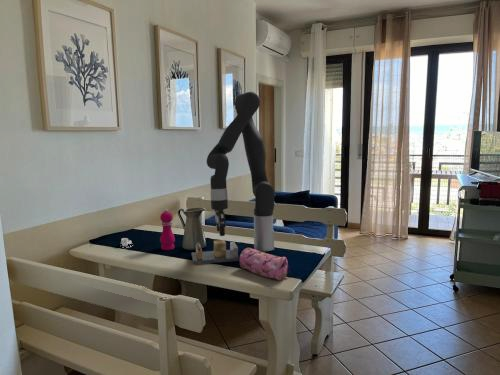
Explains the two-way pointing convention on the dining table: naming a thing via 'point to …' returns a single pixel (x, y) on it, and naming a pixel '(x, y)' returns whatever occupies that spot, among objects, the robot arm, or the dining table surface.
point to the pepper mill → (167, 231)
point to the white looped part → (125, 242)
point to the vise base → (210, 257)
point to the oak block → (219, 248)
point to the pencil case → (264, 264)
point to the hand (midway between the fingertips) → (220, 233)
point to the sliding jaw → (198, 251)
